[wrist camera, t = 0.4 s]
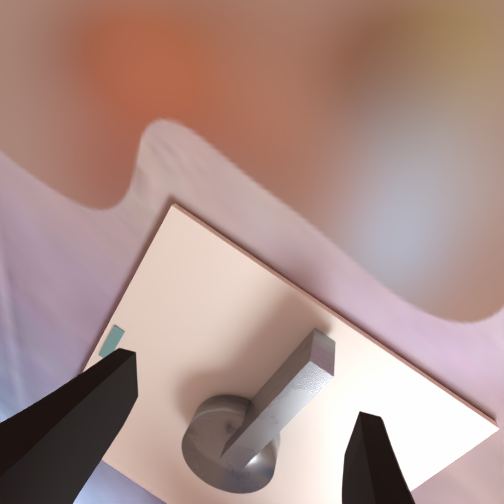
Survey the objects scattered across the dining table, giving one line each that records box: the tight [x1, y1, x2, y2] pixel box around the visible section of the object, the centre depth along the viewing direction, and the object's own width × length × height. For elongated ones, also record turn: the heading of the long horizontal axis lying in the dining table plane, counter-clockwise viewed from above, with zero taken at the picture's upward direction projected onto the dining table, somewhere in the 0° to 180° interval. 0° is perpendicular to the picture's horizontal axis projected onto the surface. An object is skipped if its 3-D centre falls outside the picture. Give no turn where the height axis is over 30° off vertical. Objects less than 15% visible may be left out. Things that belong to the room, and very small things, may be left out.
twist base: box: [83, 203, 499, 504], centre depth 26 cm, size 22×22×1 cm
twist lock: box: [181, 328, 336, 494], centre depth 22 cm, size 13×6×3 cm, turn 148°
